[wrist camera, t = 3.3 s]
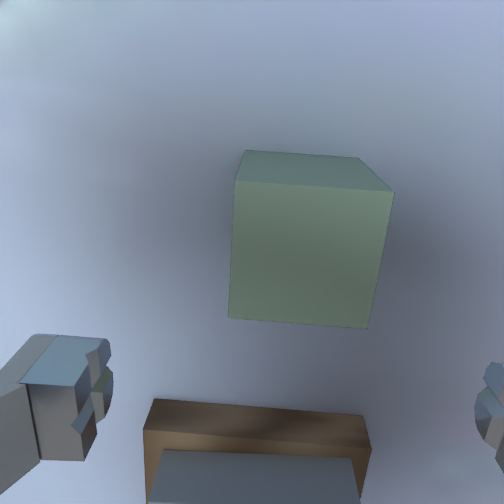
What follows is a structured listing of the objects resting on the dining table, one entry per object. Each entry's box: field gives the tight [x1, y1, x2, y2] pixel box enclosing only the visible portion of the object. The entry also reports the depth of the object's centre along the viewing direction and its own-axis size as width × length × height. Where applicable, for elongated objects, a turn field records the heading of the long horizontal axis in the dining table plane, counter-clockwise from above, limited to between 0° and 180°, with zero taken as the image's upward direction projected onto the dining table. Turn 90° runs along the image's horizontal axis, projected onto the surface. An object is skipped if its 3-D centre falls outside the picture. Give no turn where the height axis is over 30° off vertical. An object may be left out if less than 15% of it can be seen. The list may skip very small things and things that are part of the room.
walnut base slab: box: [143, 398, 372, 504], centre depth 26 cm, size 12×12×3 cm
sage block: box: [228, 150, 395, 329], centre depth 17 cm, size 5×5×6 cm
